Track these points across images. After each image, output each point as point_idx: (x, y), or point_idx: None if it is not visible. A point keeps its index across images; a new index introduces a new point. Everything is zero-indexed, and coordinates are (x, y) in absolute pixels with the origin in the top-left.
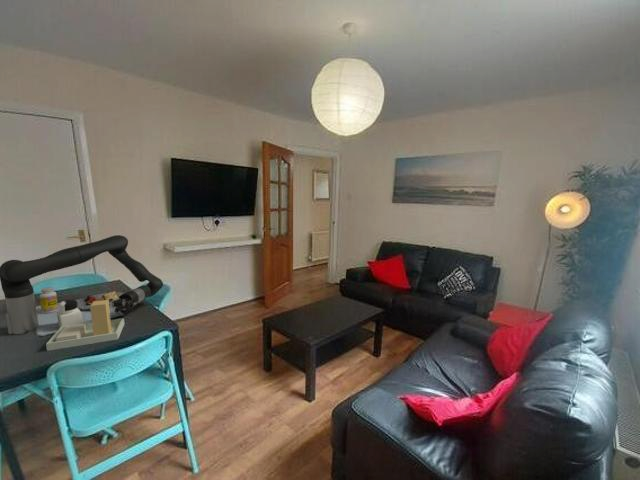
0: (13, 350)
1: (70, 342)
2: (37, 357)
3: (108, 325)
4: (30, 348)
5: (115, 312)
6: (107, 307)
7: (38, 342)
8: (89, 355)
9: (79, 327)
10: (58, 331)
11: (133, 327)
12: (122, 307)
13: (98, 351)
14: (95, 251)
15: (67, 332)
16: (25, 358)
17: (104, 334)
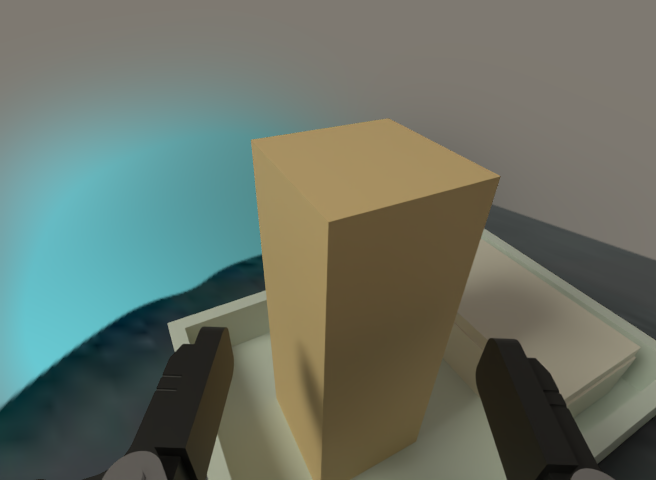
0: (632, 264)
1: None
2: None
3: (278, 361)
4: (588, 279)
5: (229, 362)
6: (282, 240)
7: (643, 322)
8: (259, 257)
9: (500, 332)
10: (599, 311)
11: None
12: (144, 427)
13: (238, 280)
14: None
15: (488, 274)
16: (495, 233)
17: (249, 302)
